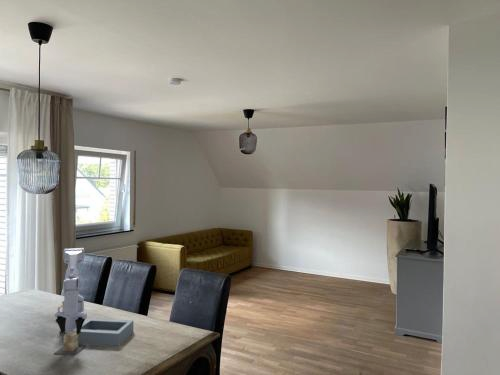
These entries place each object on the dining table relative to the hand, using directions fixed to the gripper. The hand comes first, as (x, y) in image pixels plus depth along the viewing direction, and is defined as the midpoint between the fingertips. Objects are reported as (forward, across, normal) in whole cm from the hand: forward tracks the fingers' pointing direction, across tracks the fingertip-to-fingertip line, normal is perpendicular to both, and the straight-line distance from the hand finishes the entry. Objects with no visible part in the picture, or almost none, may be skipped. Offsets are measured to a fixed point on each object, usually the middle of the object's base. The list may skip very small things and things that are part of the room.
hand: (70, 333), depth 179 cm
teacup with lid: (+8, -27, +43) cm, 51 cm away
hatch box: (+8, +8, +16) cm, 20 cm away
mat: (+8, 0, 0) cm, 8 cm away
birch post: (+8, 0, 0) cm, 8 cm away
